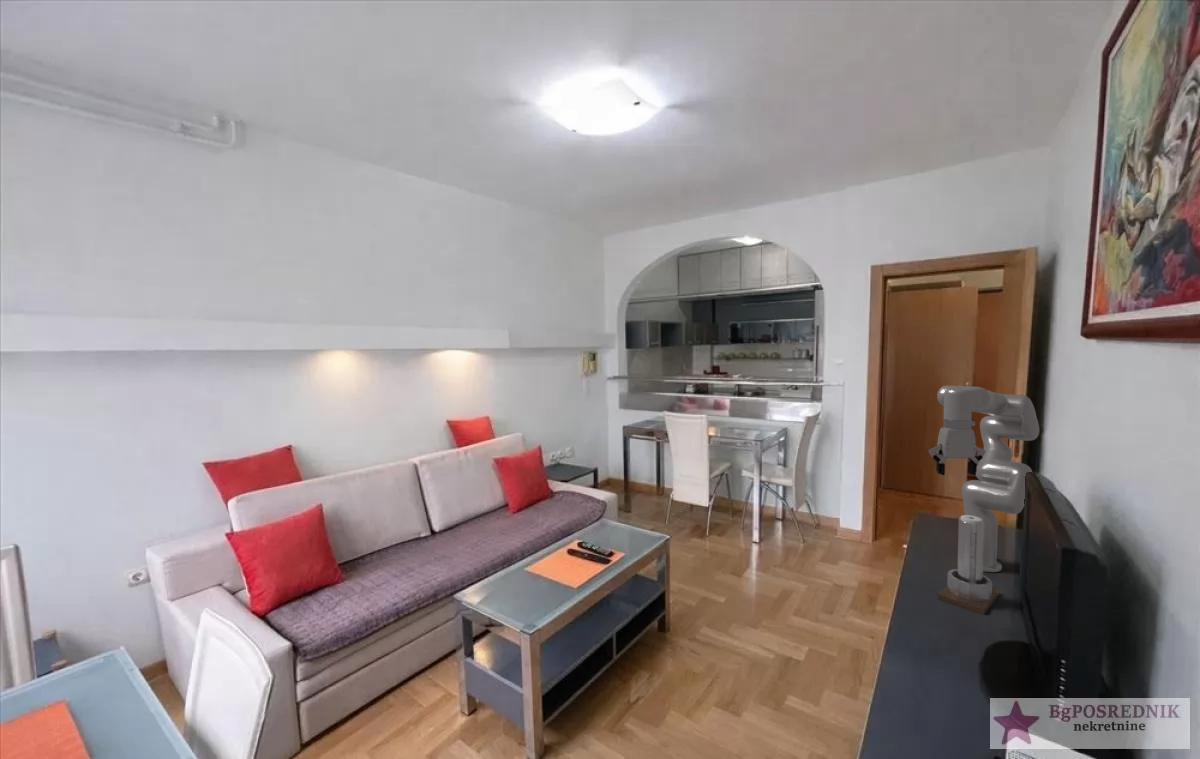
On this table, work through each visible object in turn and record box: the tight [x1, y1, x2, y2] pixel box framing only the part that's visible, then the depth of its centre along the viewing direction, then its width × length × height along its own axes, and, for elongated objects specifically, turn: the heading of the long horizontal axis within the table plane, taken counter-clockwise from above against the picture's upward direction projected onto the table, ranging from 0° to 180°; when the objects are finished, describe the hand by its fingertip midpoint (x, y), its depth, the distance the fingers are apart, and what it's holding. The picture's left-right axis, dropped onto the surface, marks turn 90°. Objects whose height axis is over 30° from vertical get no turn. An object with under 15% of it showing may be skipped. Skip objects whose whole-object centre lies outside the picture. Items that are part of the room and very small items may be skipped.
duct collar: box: [937, 568, 1001, 615], centre depth 152 cm, size 18×12×6 cm, turn 128°
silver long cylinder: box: [957, 514, 984, 584], centre depth 151 cm, size 6×6×25 cm
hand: (956, 474), depth 159 cm, fingers open, 9 cm apart
